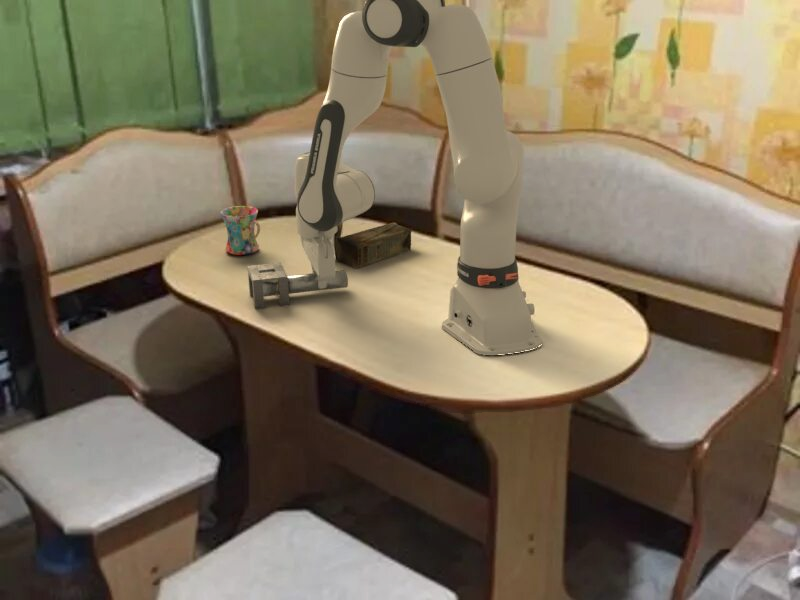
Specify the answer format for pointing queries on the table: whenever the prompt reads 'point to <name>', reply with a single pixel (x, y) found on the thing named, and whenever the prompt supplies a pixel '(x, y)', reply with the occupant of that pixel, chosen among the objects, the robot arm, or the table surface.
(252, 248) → the mug
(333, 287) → the tube
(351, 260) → the dark wooden box
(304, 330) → the table surface
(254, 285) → the gray four-legged stand
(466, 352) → the table surface
